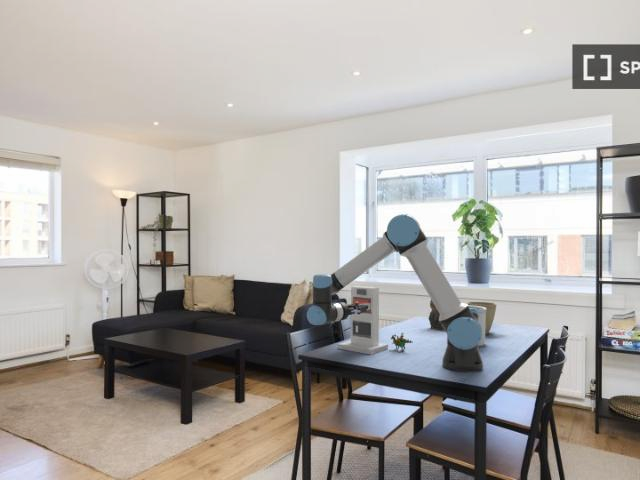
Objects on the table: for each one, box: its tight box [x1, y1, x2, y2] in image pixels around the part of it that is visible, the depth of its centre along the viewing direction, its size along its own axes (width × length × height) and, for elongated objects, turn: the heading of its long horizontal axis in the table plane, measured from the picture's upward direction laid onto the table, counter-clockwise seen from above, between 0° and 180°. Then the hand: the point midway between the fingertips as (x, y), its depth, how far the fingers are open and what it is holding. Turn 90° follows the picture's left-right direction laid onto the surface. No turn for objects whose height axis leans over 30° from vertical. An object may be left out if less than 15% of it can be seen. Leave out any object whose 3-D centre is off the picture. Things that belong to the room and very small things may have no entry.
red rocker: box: [354, 299, 371, 311], centre depth 206 cm, size 2×8×5 cm, turn 55°
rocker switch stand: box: [337, 285, 389, 355], centre depth 207 cm, size 14×18×28 cm
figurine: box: [390, 332, 414, 352], centre depth 203 cm, size 3×12×8 cm, turn 45°
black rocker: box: [353, 323, 371, 336], centre depth 206 cm, size 2×8×5 cm, turn 63°
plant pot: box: [467, 301, 497, 335], centre depth 247 cm, size 15×15×16 cm
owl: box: [428, 299, 445, 331], centre depth 260 cm, size 13×13×20 cm
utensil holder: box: [467, 304, 486, 347], centre depth 219 cm, size 15×15×18 cm
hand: (368, 306), depth 204 cm, fingers closed
